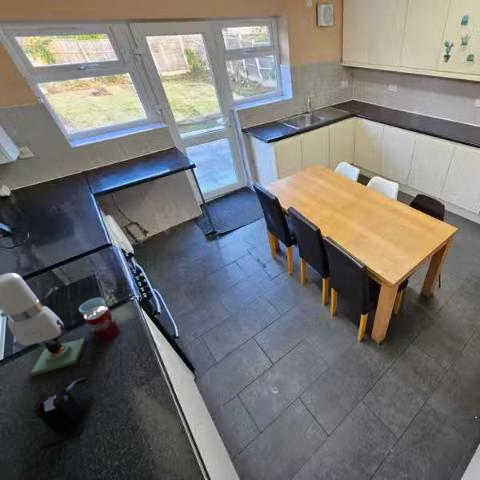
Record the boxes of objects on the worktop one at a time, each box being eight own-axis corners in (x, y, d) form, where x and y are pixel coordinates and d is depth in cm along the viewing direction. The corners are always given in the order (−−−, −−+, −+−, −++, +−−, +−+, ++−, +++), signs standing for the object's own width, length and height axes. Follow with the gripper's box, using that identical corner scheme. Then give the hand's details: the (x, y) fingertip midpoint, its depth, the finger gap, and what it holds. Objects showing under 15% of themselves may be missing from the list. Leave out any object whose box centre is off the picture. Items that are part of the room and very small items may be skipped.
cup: (86, 330, 104) (73, 311, 99) (102, 316, 111) (91, 296, 105) (103, 332, 103) (91, 312, 98) (119, 317, 110) (108, 298, 104)
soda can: (107, 328, 105) (93, 305, 99) (125, 328, 104) (112, 305, 98) (93, 343, 99) (77, 320, 93) (112, 343, 98) (97, 320, 92)
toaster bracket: (61, 411, 78) (38, 387, 72) (94, 400, 80) (74, 376, 74) (45, 448, 70) (18, 425, 64) (82, 435, 72) (59, 411, 66)
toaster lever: (69, 388, 80) (67, 380, 80) (87, 382, 82) (85, 375, 82) (39, 413, 68) (36, 404, 68) (61, 406, 69) (58, 397, 69)
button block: (34, 377, 88) (26, 369, 86) (47, 353, 96) (41, 345, 94) (78, 364, 91) (72, 356, 89) (87, 341, 99) (82, 334, 97)
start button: (50, 360, 90) (47, 356, 89) (54, 351, 93) (52, 348, 92) (63, 356, 91) (60, 352, 90) (67, 348, 94) (64, 344, 93)
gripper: (-15, 327, 77) (23, 367, 86) (49, 311, 82) (79, 351, 91) (1, 310, 83) (35, 349, 92) (60, 296, 88) (87, 334, 97)
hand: (57, 350), depth 92 cm, fingers closed
